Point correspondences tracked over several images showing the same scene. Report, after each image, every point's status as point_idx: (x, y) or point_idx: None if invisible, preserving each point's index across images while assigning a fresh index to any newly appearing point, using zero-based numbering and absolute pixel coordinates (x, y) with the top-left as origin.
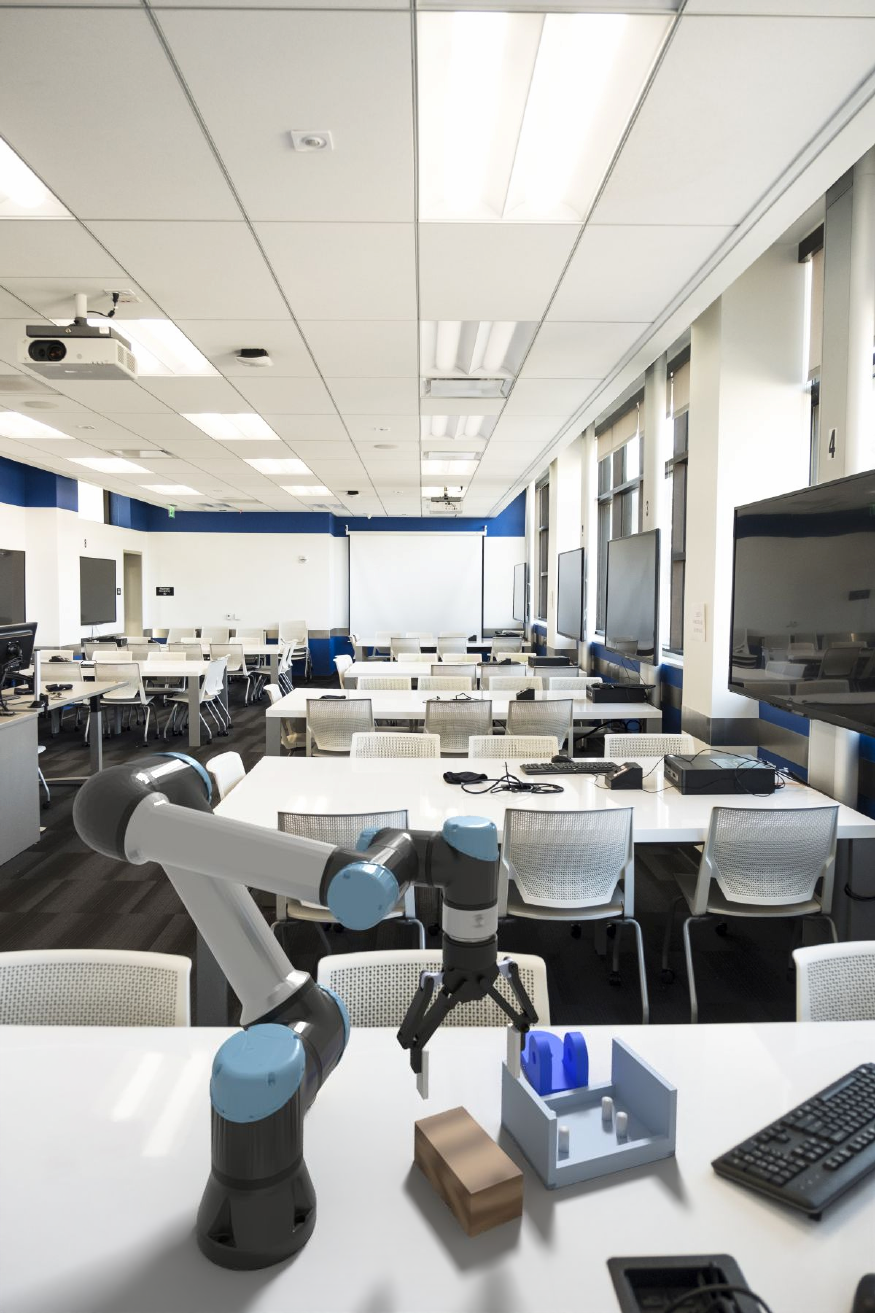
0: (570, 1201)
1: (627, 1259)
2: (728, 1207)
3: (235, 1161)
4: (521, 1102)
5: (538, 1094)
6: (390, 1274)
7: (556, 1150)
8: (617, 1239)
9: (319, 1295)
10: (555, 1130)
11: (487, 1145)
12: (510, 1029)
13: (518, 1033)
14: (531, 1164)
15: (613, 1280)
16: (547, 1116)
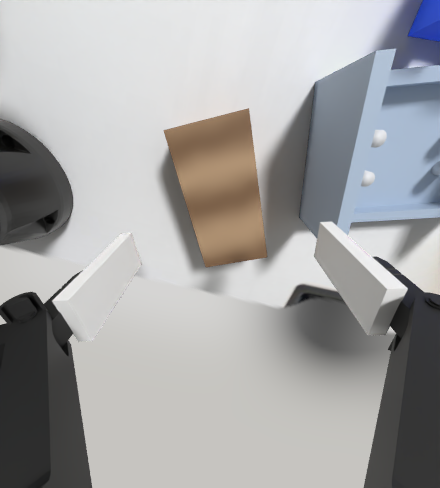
0: (310, 233)
1: (311, 288)
2: (427, 271)
3: None
4: (335, 160)
5: (418, 23)
6: (141, 259)
7: None
8: (318, 273)
9: (91, 261)
10: None
11: (249, 208)
12: (374, 306)
13: (377, 333)
14: (304, 182)
15: (291, 297)
16: None
